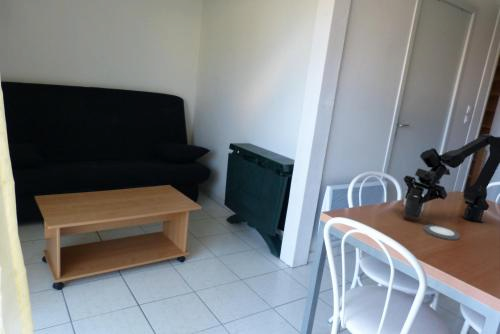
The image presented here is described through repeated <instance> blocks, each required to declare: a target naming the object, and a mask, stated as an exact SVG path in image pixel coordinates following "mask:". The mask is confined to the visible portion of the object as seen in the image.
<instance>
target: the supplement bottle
mask: <svg viewBox="0 0 500 334" xmlns="http://www.w3.org/2000/svg"><path fill="white" fill-rule="evenodd" d="M410 192H411V193H409V194H408V195H407V198H406V203H405V206H404V209H403V214H404V215H405V216H408V217H410V218H415V219H417V218H418V219H419V218H420V217H421V214H422V212H423V211H422V206H423V204H419V202H420V200H421V199H422V198H423V196H422V194H423V195H424V192H423V189H421V188H416V187H412V188H411V190H410Z"/></svg>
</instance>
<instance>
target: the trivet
mask: <svg viewBox="0 0 500 334" xmlns="http://www.w3.org/2000/svg"><path fill="white" fill-rule="evenodd" d="M423 231H424V232H425V233H427V234H428V235H430V236H432V235H433V237H435V238H437V237H438V239H441V238H442V239H441V240H445V239H447V240H446V241H458V240H460V238H461V235H460V234H461V233H459V232H458V231H456V230H454V229H452V228H449V227H446V226H442V225H437V224H426V225H424V226H423Z"/></svg>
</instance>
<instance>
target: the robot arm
mask: <svg viewBox="0 0 500 334" xmlns="http://www.w3.org/2000/svg"><path fill="white" fill-rule="evenodd" d="M488 145H489V147H488V148H489V150H488V151H489V155H488V158H487V159H486V161H485V162H484V164H483V167H482V168H481V170H480V171H479V174H478V177H477V178H476V181H475V182H474V183H473V184H472V185H469V184H467V186H466V188H465V190H464V191H463V199H464V204H465V205H466V208H465V209H464V213H463V214H462V216H461V217H462V218H464V219H466V220H468V221H469V222H473V223H474V222H475V223H484V220H482V219H483V215H484V211H488V209H490V205H489V203H488V202H487V196H488V191H487V189H488V186H489V184H490V182H491V181H492V179H493V177H494V174H495V173H496V171H497V170H498V167H499V165H500V136H493V135H492V134H486V133H483V134H481V135H480V136H479V137H477V138H476V139H474V140H472V141H470V142H468V143H467V144H465V145H463V146H461V147H459V148H457V149H452V150H449V151H446V152H444V153H442V154H439V153H438V150H436V148H433V147H431V148H430V149H427V150H424V151H423V152H422V153H421V154H420V155H419V158H420V159H421V160H422V162H423V163H424V164H425V166H426V167H427V168H430V169H429V170H426V169H422V168H417V170H416V171H415V173H414V176H417V177H418V178H417V179H416V178H415V177H414V176H411V175H405V177H404V176H403V181H404V183H405V185H406V187H407V190H406V191H407V193H406V192H405V194H406V196H405V195H404V199H405V198H407V195H408V194H409V193H411V192H410V190H411V188H412V187H417V186H418V187H421V188H423V189H424V190H427V191H426V193H425V194H424V197H423V198H422V199H421V200H420V202H419V204H423V203H428V202H430V201H434V200H439V199H441V200H446V198H447V197H448V193H447V191H446V189H445V186H442V185H440V184H441V182H440V180H441V179H442V178H443V177H444V175H446V176H450V175H451V172H450V168H451V169H452V168H453V169H456V168H458V167H460V165H462V164H463V163H464V162H465V160H466V159H467V158H468V157H470V156H472V155H473V154H475V153H477V152H478V151H481V150H482V149H484V148H486V147H487V146H488ZM448 167H449V168H448ZM417 180H418V181H417Z"/></svg>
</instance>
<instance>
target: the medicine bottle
mask: <svg viewBox="0 0 500 334" xmlns="http://www.w3.org/2000/svg"><path fill="white" fill-rule="evenodd" d="M416 188H421V187H418V186H417V187H416ZM421 189H423V188H421ZM424 191H425V189H423V194H422V196H423V197H424V196H425V194H424ZM406 193H407V190H406V191H405V195H404V198H403V199H404V200H403V203H402V204H403V206H404V207H405V203H406V198H405V196H406ZM425 203H426V202H425ZM425 203H423V206H422V211H421V212H423V211H424V208H425Z"/></svg>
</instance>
